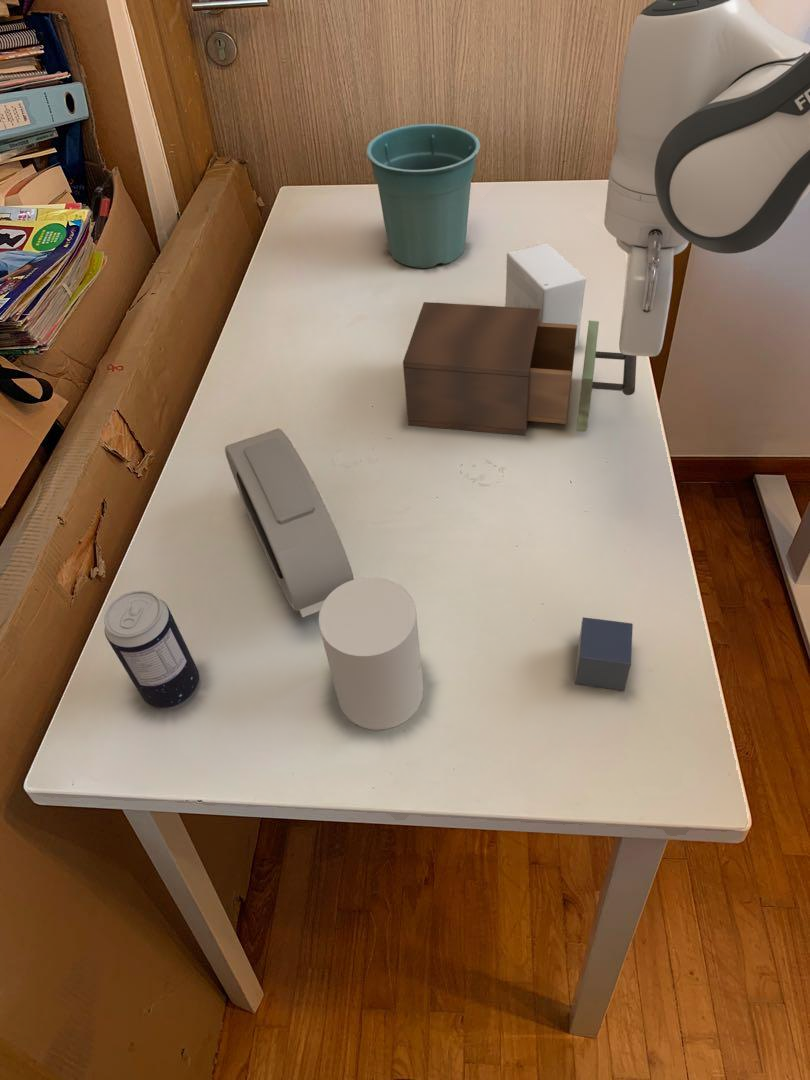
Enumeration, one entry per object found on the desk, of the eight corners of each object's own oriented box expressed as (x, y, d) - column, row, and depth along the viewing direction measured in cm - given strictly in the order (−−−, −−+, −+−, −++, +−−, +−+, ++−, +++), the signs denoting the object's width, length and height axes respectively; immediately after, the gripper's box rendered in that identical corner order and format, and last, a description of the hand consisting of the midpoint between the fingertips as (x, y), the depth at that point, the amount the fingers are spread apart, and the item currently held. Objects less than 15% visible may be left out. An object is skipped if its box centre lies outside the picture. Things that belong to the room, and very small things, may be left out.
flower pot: (444, 213, 138) (440, 113, 126) (500, 254, 128) (502, 149, 116) (358, 244, 133) (346, 142, 121) (409, 288, 123) (402, 182, 111)
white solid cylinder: (441, 686, 77) (436, 610, 68) (381, 746, 73) (367, 674, 64) (379, 640, 81) (367, 562, 72) (319, 694, 77) (298, 619, 68)
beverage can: (210, 667, 80) (176, 591, 71) (187, 717, 77) (148, 645, 68) (157, 658, 81) (117, 582, 72) (132, 707, 78) (87, 634, 69)
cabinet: (536, 372, 107) (540, 308, 100) (525, 435, 99) (528, 371, 92) (427, 364, 110) (423, 301, 103) (408, 425, 102) (402, 361, 95)
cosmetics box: (580, 347, 110) (588, 277, 103) (537, 360, 109) (542, 290, 101) (543, 308, 117) (548, 240, 109) (503, 320, 116) (504, 252, 108)
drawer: (631, 376, 104) (640, 323, 98) (628, 435, 97) (638, 382, 91) (487, 366, 108) (488, 314, 102) (474, 422, 100) (473, 370, 94)
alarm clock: (238, 497, 96) (212, 412, 86) (288, 479, 97) (267, 394, 88) (304, 644, 81) (281, 562, 72) (362, 621, 83) (346, 537, 73)
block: (626, 650, 78) (632, 623, 75) (624, 691, 75) (631, 664, 72) (578, 644, 79) (582, 616, 76) (574, 684, 76) (579, 657, 73)
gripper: (695, 269, 64) (667, 408, 74) (694, 155, 77) (671, 287, 88) (613, 265, 65) (596, 402, 76) (626, 154, 79) (610, 283, 89)
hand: (636, 339), depth 82 cm, fingers closed
